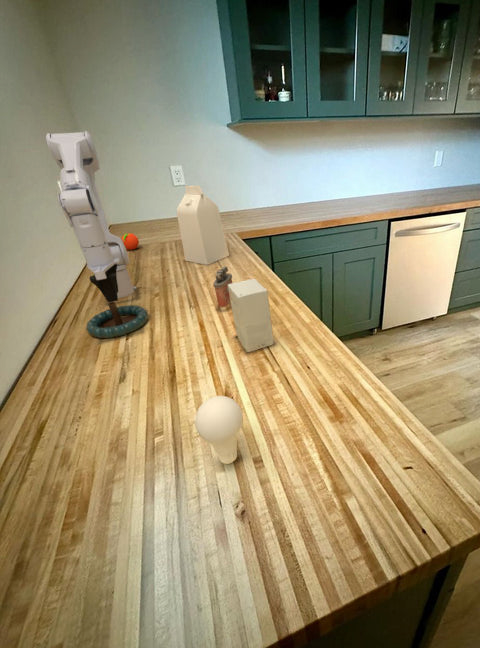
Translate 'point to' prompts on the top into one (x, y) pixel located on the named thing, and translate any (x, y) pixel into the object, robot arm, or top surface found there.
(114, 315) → the stand
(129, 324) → the ring
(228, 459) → the lightbulb
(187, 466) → the top surface
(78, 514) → the top surface
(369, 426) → the top surface
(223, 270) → the lighter
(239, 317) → the small box
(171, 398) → the top surface
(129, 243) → the clementine
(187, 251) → the milk
